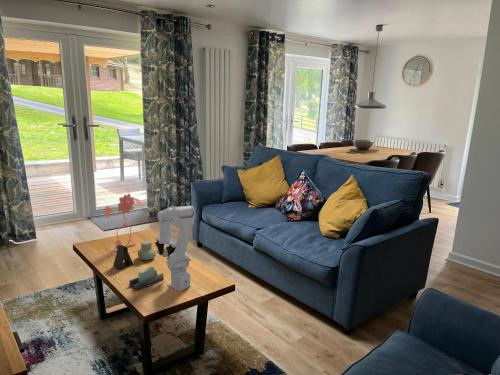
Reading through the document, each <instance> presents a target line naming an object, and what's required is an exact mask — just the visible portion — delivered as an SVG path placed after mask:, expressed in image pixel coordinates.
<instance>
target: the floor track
mask: <svg viewBox="0 0 500 375" xmlns="http://www.w3.org/2000/svg"><path fill="white" fill-rule="evenodd" d="M164 279H165V278H164V273H160V274H158V271H157V269H155V276H154V277H152V278H150V279H147V280H145V281H142V282H140V283H139V276H137V277H135V278H133V279H130V280H129V284H128V286H129V287H130V288H132V289H134V290H136V291H140V290H143V289H145V288H147V287H149V286H151V285H153V284H156V283H159V282H161V281H163V280H164Z"/></svg>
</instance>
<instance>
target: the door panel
mask: <svg viewBox="0 0 500 375" xmlns="http://www.w3.org/2000/svg"><path fill="white" fill-rule="evenodd" d="M155 270H156V268H155V267H154V266H150V267H147V268H144V269H142V270H139V271H138V277H139V283H140V282H142V281H145V280H147V279H150V278H152V277H154V276H155Z"/></svg>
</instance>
